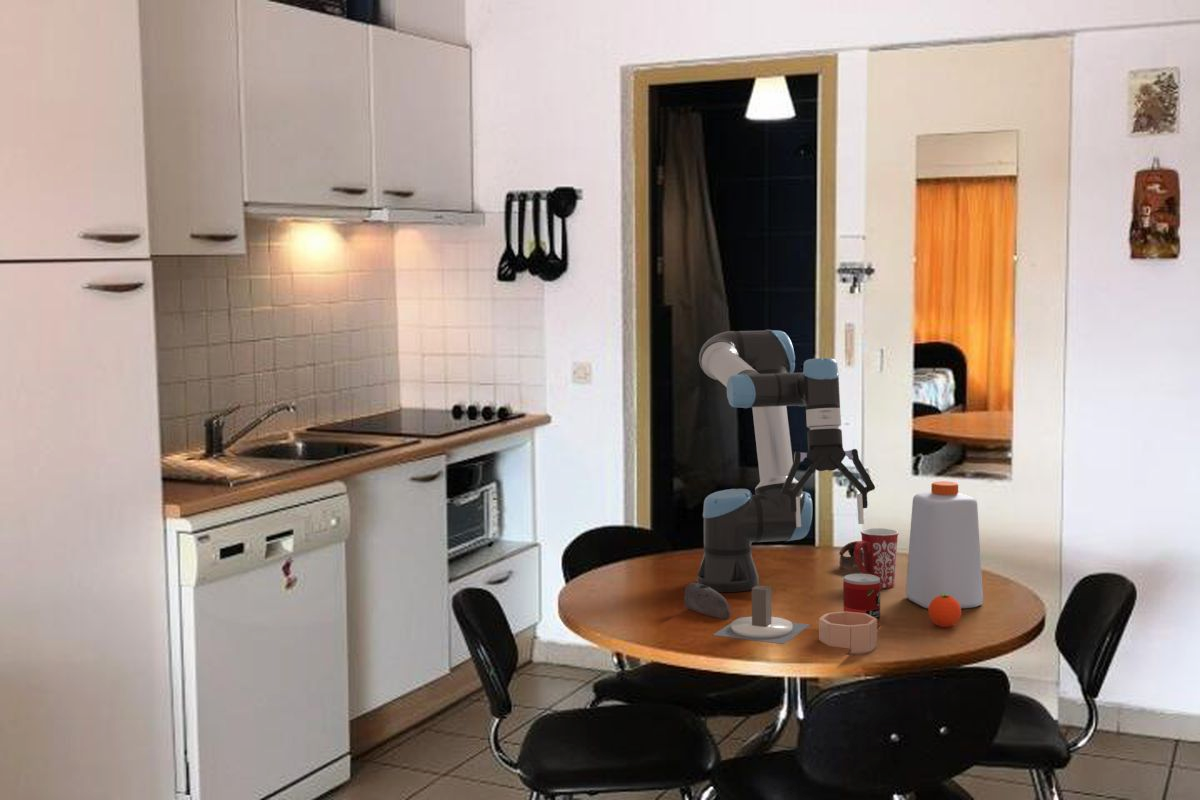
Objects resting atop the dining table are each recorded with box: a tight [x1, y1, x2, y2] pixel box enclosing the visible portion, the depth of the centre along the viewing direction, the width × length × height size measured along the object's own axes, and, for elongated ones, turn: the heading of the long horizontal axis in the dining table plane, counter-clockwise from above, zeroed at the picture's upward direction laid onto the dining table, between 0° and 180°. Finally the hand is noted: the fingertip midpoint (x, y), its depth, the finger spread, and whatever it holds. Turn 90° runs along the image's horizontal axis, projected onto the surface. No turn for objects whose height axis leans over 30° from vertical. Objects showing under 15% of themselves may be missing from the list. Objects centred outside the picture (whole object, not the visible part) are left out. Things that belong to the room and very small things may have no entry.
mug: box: [854, 527, 899, 590], centre depth 334 cm, size 13×9×14 cm
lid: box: [730, 584, 793, 638], centre depth 292 cm, size 13×13×9 cm
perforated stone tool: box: [683, 582, 731, 620], centre depth 308 cm, size 15×5×7 cm, turn 28°
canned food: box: [842, 573, 881, 630], centre depth 299 cm, size 8×8×11 cm
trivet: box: [712, 616, 810, 645], centre depth 293 cm, size 16×16×2 cm
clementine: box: [927, 594, 962, 628], centre depth 299 cm, size 8×7×7 cm
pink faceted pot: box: [818, 611, 878, 656], centre depth 284 cm, size 11×11×6 cm
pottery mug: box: [838, 540, 863, 570], centre depth 354 cm, size 12×10×8 cm
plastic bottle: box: [905, 480, 984, 610], centre depth 317 cm, size 15×15×28 cm
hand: (829, 525), depth 300 cm, fingers open, 13 cm apart
